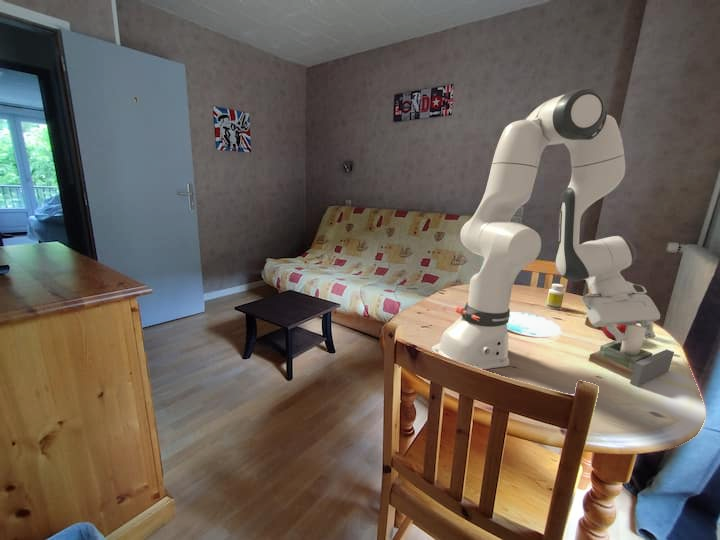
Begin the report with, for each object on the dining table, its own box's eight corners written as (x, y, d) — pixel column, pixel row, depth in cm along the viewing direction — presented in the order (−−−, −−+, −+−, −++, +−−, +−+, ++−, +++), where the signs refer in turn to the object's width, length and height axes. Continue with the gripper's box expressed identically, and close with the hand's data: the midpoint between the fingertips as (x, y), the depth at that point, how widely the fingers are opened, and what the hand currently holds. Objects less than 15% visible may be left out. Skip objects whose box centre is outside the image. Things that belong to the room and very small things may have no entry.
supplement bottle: (563, 310, 128) (567, 287, 126) (548, 309, 129) (552, 286, 127) (557, 305, 134) (562, 283, 131) (543, 304, 135) (547, 282, 132)
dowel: (632, 365, 85) (641, 331, 83) (615, 358, 89) (623, 325, 86) (639, 362, 87) (649, 328, 84) (622, 354, 91) (631, 322, 88)
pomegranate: (597, 338, 106) (602, 312, 103) (599, 328, 113) (605, 303, 111) (636, 347, 100) (643, 319, 97) (636, 336, 107) (642, 310, 105)
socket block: (634, 381, 82) (638, 364, 81) (588, 360, 91) (592, 344, 90) (657, 370, 87) (662, 354, 86) (611, 351, 97) (615, 336, 95)
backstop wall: (637, 386, 80) (643, 365, 78) (629, 383, 81) (635, 362, 79) (668, 371, 86) (674, 352, 85) (660, 368, 88) (666, 349, 86)
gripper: (589, 289, 87) (614, 338, 81) (649, 286, 91) (678, 333, 85) (572, 299, 93) (595, 345, 86) (629, 296, 97) (656, 340, 90)
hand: (637, 339), depth 85 cm, fingers open, 8 cm apart
